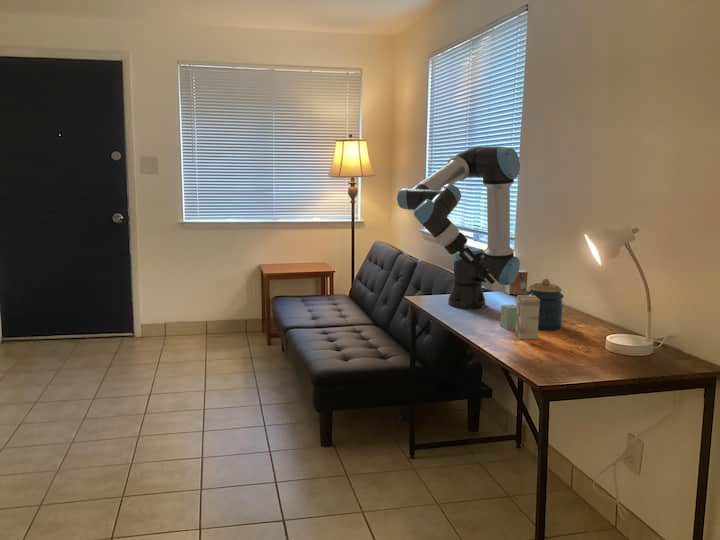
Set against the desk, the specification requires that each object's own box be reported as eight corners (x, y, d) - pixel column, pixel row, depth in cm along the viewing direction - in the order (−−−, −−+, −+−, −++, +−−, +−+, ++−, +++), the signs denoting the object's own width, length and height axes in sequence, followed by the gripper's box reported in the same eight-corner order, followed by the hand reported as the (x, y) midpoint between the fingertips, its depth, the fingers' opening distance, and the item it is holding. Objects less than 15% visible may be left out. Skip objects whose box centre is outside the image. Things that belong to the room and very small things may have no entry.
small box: (509, 295, 284) (510, 271, 282) (505, 292, 289) (506, 269, 287) (526, 295, 284) (528, 271, 282) (522, 292, 290) (523, 269, 288)
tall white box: (515, 334, 220) (517, 295, 217) (532, 334, 220) (534, 295, 217) (519, 339, 214) (522, 299, 211) (537, 339, 214) (539, 299, 211)
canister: (555, 332, 223) (559, 283, 220) (519, 327, 230) (522, 279, 227) (565, 325, 233) (569, 278, 230) (531, 319, 240) (534, 274, 237)
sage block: (500, 326, 230) (501, 305, 229) (511, 325, 231) (512, 304, 230) (506, 329, 226) (507, 308, 224) (517, 329, 227) (518, 307, 226)
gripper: (440, 244, 217) (486, 292, 220) (446, 249, 204) (494, 300, 207) (456, 229, 216) (502, 277, 219) (463, 233, 204) (511, 285, 206)
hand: (498, 289), depth 213 cm, fingers closed
